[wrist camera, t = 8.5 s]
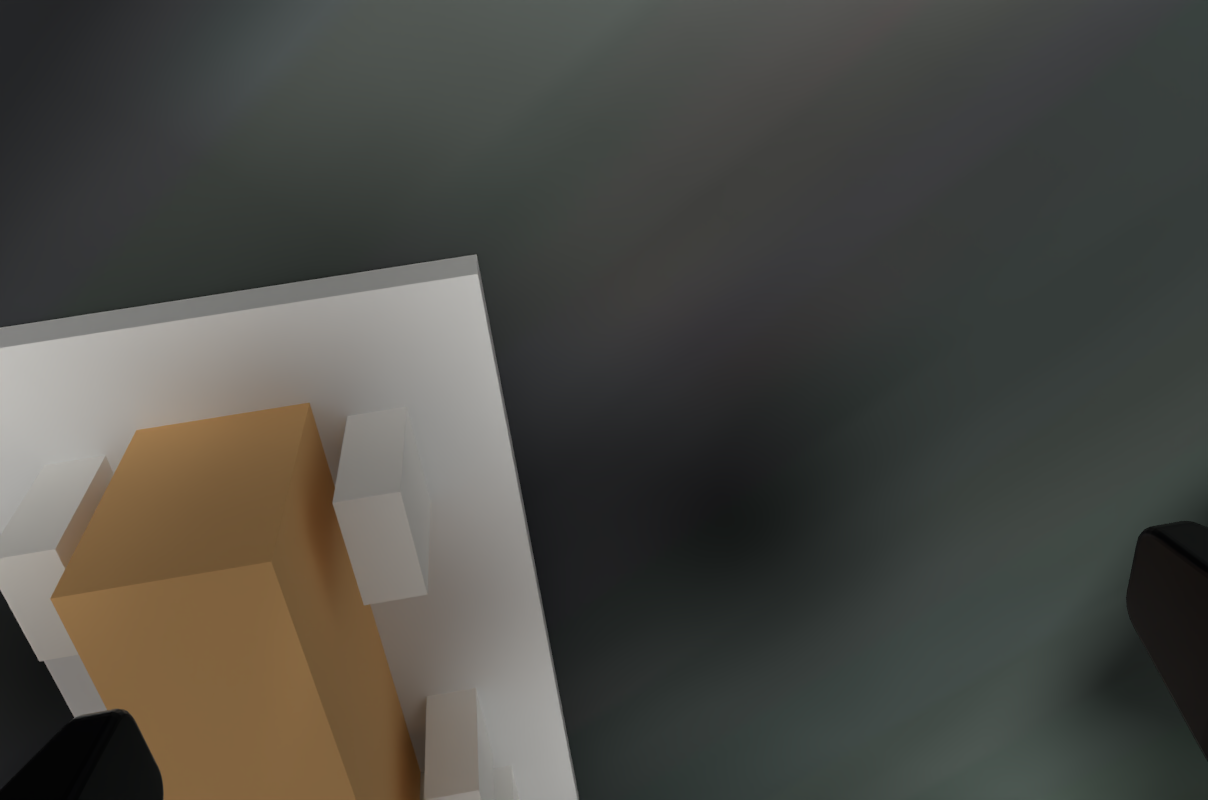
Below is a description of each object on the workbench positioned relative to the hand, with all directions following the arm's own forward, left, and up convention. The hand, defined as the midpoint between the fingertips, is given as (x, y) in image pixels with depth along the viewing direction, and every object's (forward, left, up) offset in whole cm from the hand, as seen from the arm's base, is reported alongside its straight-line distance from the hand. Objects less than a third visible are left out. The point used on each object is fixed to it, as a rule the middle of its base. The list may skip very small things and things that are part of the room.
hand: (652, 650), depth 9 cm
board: (+7, +11, -12) cm, 18 cm away
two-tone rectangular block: (+7, +11, -12) cm, 17 cm away
